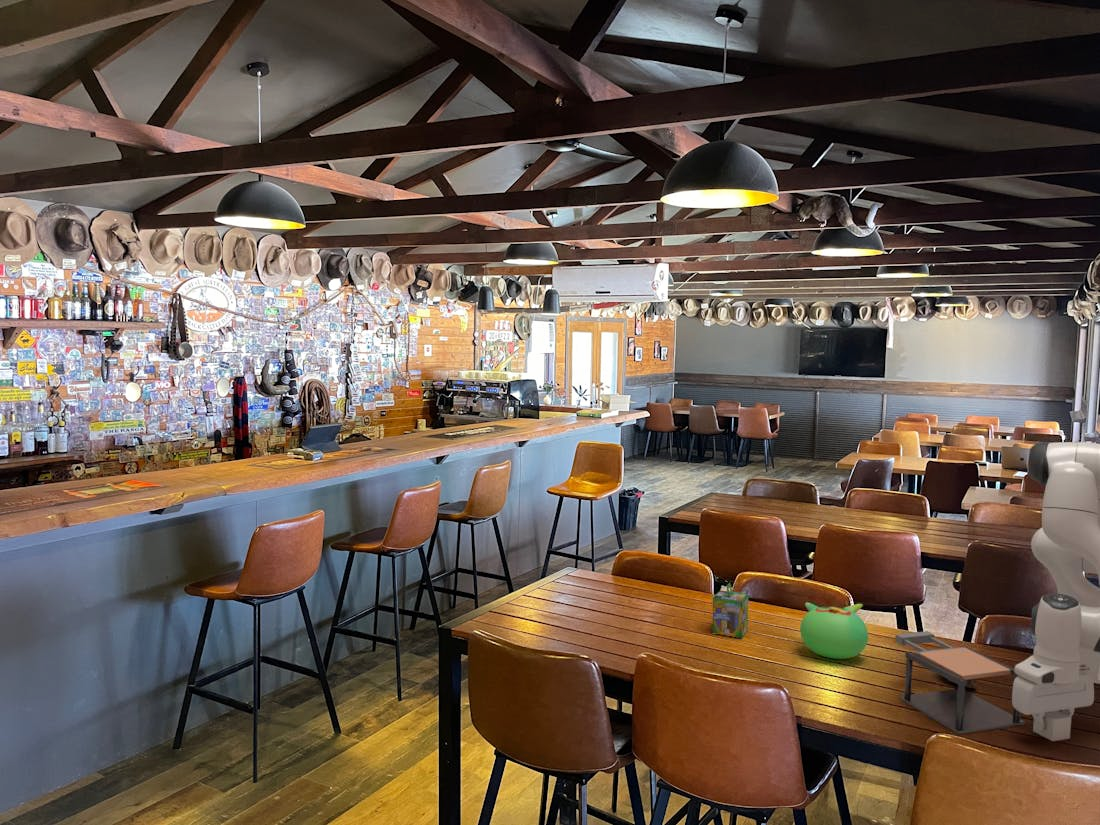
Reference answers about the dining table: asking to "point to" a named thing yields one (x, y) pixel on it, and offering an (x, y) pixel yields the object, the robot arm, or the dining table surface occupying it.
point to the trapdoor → (953, 657)
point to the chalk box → (730, 613)
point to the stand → (957, 702)
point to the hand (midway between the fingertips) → (1051, 727)
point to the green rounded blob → (834, 631)
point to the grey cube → (1055, 726)
